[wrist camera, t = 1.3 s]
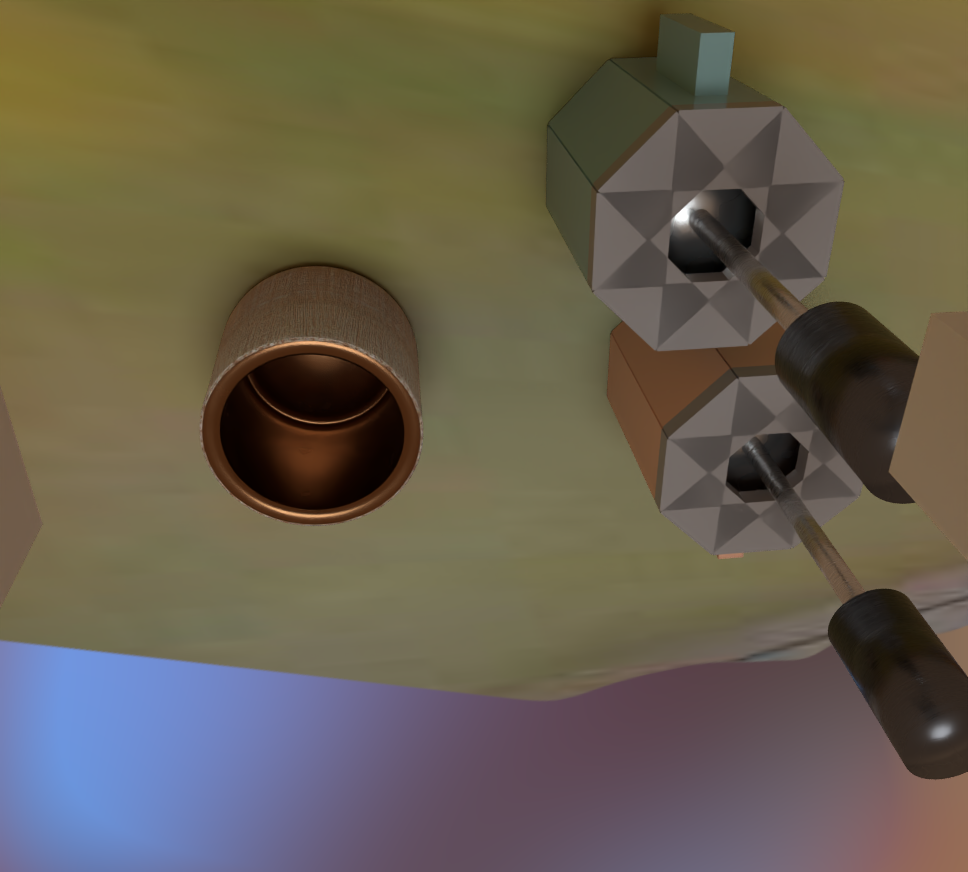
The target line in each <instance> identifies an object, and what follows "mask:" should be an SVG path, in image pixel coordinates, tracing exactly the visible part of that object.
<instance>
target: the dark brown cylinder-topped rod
mask: <svg viewBox="0 0 968 872" xmlns="http://www.w3.org/2000/svg"><path fill="white" fill-rule="evenodd" d="M755 214H756V207H755V206H754V205H753V204H752V202H751V201H750V200H749V199H748V198H747V197H746V196H745V195H744V193H743V192H742V191H741V190H740V189H723V190H702V191H701V192H700V193H699V194H698V195H697V196H696V197H695V198H694V199H693V200H691V201H690V202H689V203H688V204H687V205H686V206H685V207H684V208H683V209H682V210H681V211H680V212H679V213H678V214H677V215H676V216H675V217H674V218H673V219H672V220H671V228H670V239H669V250H668V257H669V258H670V259H671V260H672V261H673V262H674V263H675V264H676V265H677V266H678V267H679V268H680V269H681V270H682V271H683V272H684V274H696V273H715V272H722V271H723V270H725V269H726V268H728V269H729V270H730V271H731V272H732V273H733V274H734V275H735V276H736V278H737V279H738V280H739V281H740V282H741V283H742V284H743V285H744V286H745V287H746V288H747V289H748V291H749V292H750V293H751V294H752V295H753V296H754V297H755V298H756V299H757V300H758V301H759V303H760V304H761V305H762V306H763V307H764V308H765V309H766V310H767V311H768V312H769V313H770V314H771V316H772V317H773V318H774V319H775V320H776V321H777V322H778V323H779V324H780V325H781V326H782V328H783V329H784V330H785V332H784V334H783V335H782V337H781V339H780V341H779V343H778V346H777V349H776V353H775V370H776V374H777V376H778V379H779V380H780V382H781V383H782V385H783V386H784V387H785V388H786V390H787V391H788V392H789V393H790V394H791V396H792V397H793V398H794V399H795V401H796V402H797V403H798V404H799V405H800V407H801V408H802V409H803V410H804V412H805V413H806V414H807V415H808V416H809V418H810V419H811V420H812V421H813V423H814V424H815V425H816V426H817V427H818V429H819V430H820V431H821V432H822V434H823V435H824V436H825V437H826V439H827V440H828V441H829V442H830V443H831V445H832V446H833V447H834V448H835V450H836V451H837V452H838V453H839V454H840V456H841V457H842V458H843V459H844V461H845V462H846V463H847V464H848V465H849V467H850V468H851V469H852V470H853V472H854V473H855V474H856V475H857V476H858V478H859V479H860V480H861V481H862V483H863V484H864V485H865V486H866V487H867V489H868V490H869V491H870V492H871V493H872V494H873V495H875V496H876V497H878V498H880V499H882V500H885V501H887V502H892V503H899V504H907V503H916V502H915V501H914V500H913V499H912V498H911V496H910V495H909V494H908V493H907V492H906V491H905V490H904V489H903V487H902V486H901V485H900V484H899V483H898V482H897V481H896V479H895V478H894V477H893V476H892V475H891V474H890V473H889V468H890V464H891V461H892V457H893V453H894V450H895V446H896V442H897V438H898V435H899V431H900V427H901V424H902V420H903V416H904V412H905V409H906V405H907V401H908V398H909V394H910V390H911V386H912V383H913V379H914V375H915V372H916V368H917V364H918V360H919V356H918V355H917V354H916V353H915V352H914V351H913V350H911V349H910V348H909V347H908V346H907V345H906V344H904V343H903V342H902V341H901V340H900V339H899V338H898V337H896V336H895V335H894V334H893V333H892V332H891V331H890V330H888V329H887V328H886V327H885V326H884V325H883V324H881V323H880V322H879V321H878V320H877V319H876V318H875V317H873V316H872V315H871V314H870V313H869V312H868V311H867V310H865V309H864V308H862V307H860V306H858V305H856V304H853V303H849V302H830V303H826V304H822V305H819V306H816V307H814V308H812V309H810V310H808V309H807V308H806V307H805V306H804V305H803V304H802V303H801V302H800V301H799V300H798V299H797V298H796V297H795V296H794V295H793V294H792V293H791V292H790V291H789V290H788V289H786V288H785V287H784V286H783V285H782V284H781V283H780V282H779V281H778V280H777V279H776V278H775V277H774V276H773V275H772V274H771V273H770V272H769V271H768V270H767V269H766V268H765V267H764V266H763V265H762V264H761V263H760V262H759V261H758V260H757V259H756V258H755V257H754V256H753V255H752V254H751V253H750V252H749V251H748V250H747V249H748V248H749V247H750V246H751V242H752V235H753V228H754V221H755Z"/></svg>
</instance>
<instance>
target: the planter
mask: <svg viewBox="0 0 968 872" xmlns="http://www.w3.org/2000/svg"><path fill="white" fill-rule="evenodd" d="M200 440H201V446H202V450H203V453H204V456H205V459H206V461H207V463H208V466H209V468H210V469H211V471H212V473H213V474H214V476H215V477H216V479H217V480H218V481H219V483H220V484H221V485H222V486H223V487H224V488H225V490H226V491H227V492H228V493H230V494H231V495H232V496H233V497H234V498H235V499H237V500H238V501H239V502H240V503H242V504H243V505H245V506H246V507H248V508H250V509H252V510H253V511H255V512H257V513H259V514H261V515H264V516H266V517H269V518H272V519H275V520H278V521H281V522H285V523H290V524H297V525H306V526H323V525H333V524H339V523H344V522H348V521H351V520H355V519H358V518H360V517H363V516H365V515H367V514H369V513H372V512H373V511H375V510H377V509H379V508H380V507H382V506H383V505H385V504H386V503H387V502H389V501H390V500H391V499H392V498H393V497H395V496H396V495H397V494H398V493H399V492H400V491H401V490H402V488H403V487H404V486H405V485H406V483H407V482H408V481H409V479H410V478H411V476H412V474H413V472H414V470H415V468H416V466H417V464H418V461H419V458H420V454H421V450H422V444H423V421H422V410H421V398H420V383H419V367H418V354H417V346H416V341H415V337H414V333H413V331H412V328H411V326H410V324H409V322H408V320H407V317H406V316H405V314H404V312H403V311H402V309H401V308H400V306H399V305H398V304H397V303H396V301H395V300H394V299H393V298H392V297H391V296H390V295H389V294H388V293H387V292H386V291H385V290H384V289H382V288H381V287H380V286H378V285H377V284H375V283H374V282H372V281H370V280H369V279H367V278H365V277H363V276H361V275H359V274H356V273H353V272H351V271H347V270H344V269H340V268H335V267H328V266H305V267H298V268H292V269H289V270H285V271H282V272H279V273H277V274H275V275H272V276H270V277H268V278H266V279H265V280H263V281H261V282H260V283H258V284H257V285H256V286H255V287H253V288H252V289H251V290H250V291H249V292H248V293H247V294H246V295H245V296H244V297H243V298H242V299H241V300H240V302H239V303H238V304H237V306H236V307H235V309H234V310H233V312H232V313H231V315H230V317H229V319H228V321H227V324H226V326H225V329H224V332H223V336H222V339H221V343H220V347H219V350H218V354H217V358H216V362H215V365H214V369H213V373H212V376H211V380H210V383H209V387H208V390H207V393H206V397H205V400H204V403H203V407H202V411H201V418H200Z"/></svg>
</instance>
